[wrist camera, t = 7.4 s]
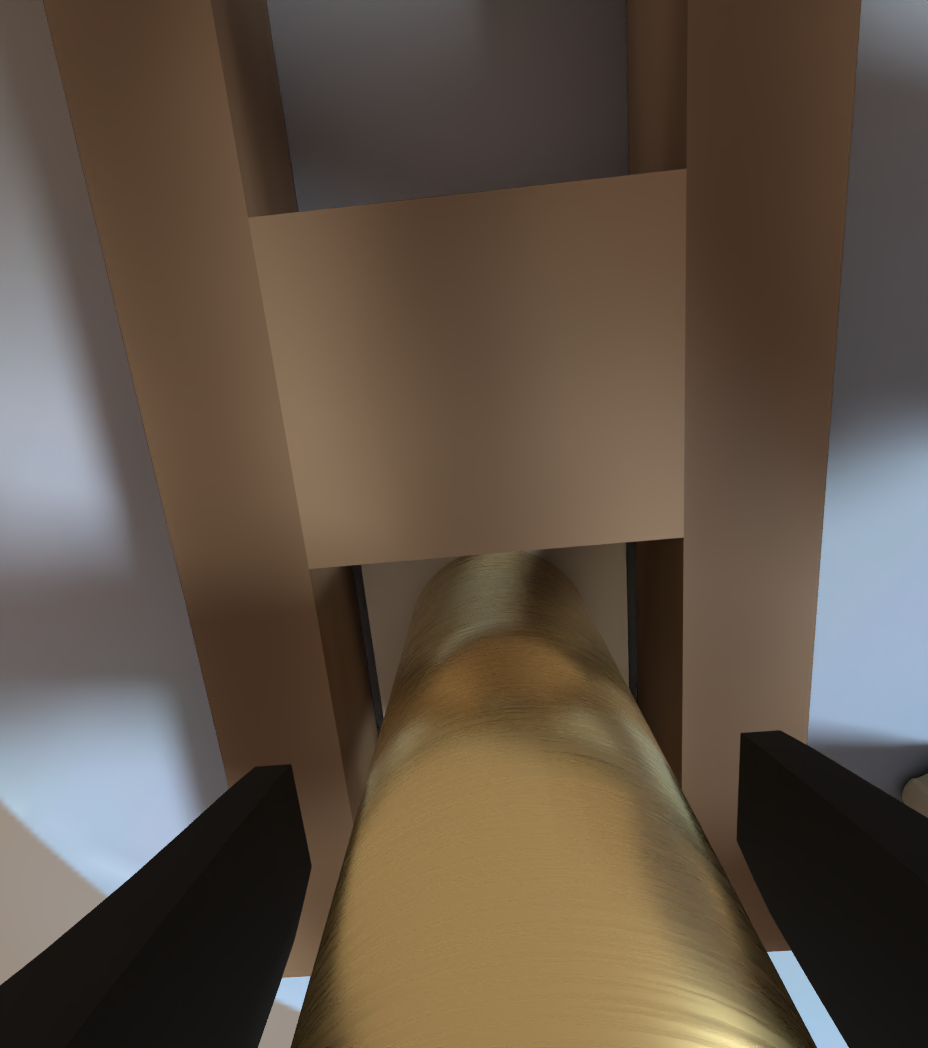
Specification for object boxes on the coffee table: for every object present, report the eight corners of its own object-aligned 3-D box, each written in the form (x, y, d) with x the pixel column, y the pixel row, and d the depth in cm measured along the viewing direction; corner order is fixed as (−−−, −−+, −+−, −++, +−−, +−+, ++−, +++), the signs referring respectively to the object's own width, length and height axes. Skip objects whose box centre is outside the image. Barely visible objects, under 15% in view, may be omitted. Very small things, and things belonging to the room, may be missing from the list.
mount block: (772, -455, 9) (927, -895, 6) (728, 840, 15) (791, 950, 12) (69, -346, 9) (-123, -699, 6) (312, 866, 15) (274, 978, 12)
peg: (583, 539, 12) (985, 1078, 3) (591, 703, 13) (899, 1519, 4) (401, 557, 13) (146, 1116, 3) (422, 716, 14) (292, 1522, 4)
